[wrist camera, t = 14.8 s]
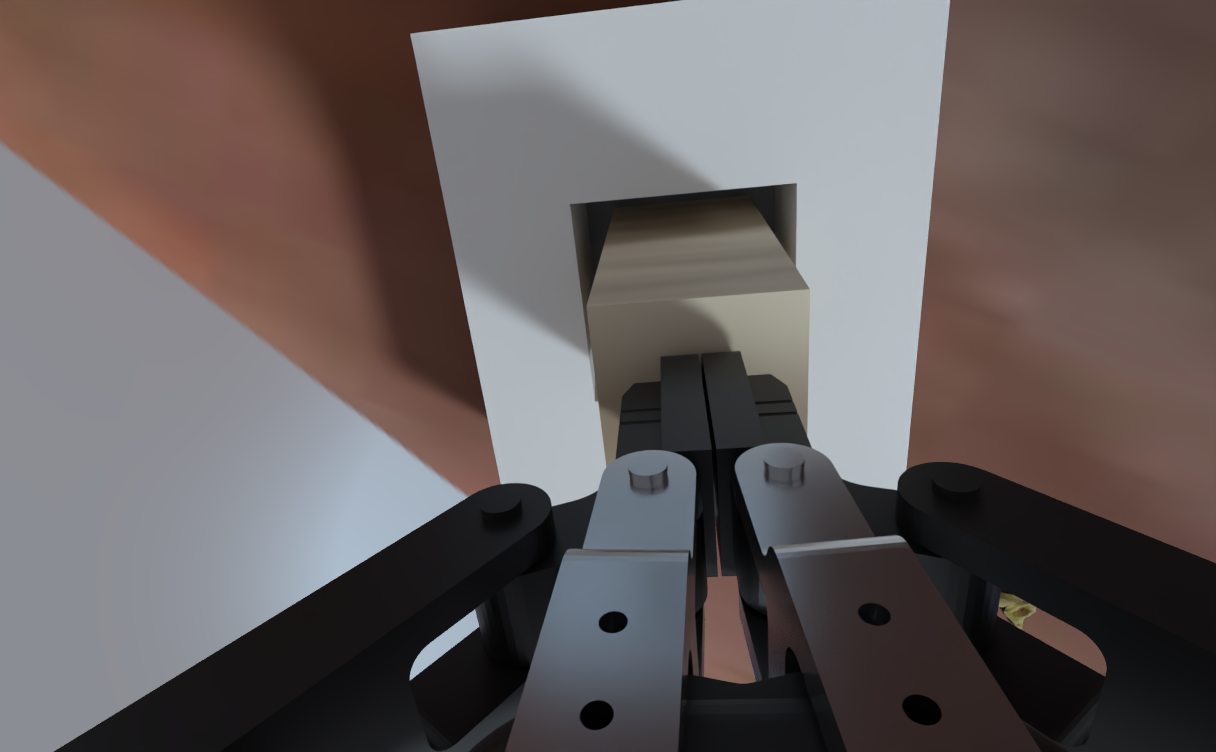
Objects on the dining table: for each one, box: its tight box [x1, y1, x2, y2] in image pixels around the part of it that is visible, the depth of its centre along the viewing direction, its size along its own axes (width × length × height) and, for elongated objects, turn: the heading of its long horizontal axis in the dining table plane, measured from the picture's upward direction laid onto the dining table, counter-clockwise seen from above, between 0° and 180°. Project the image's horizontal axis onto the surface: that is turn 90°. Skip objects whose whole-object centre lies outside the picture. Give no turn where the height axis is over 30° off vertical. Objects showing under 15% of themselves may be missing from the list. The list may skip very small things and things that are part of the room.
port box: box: [410, 0, 950, 506], centre depth 20 cm, size 14×12×5 cm
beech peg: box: [586, 195, 810, 467], centre depth 17 cm, size 4×4×9 cm
